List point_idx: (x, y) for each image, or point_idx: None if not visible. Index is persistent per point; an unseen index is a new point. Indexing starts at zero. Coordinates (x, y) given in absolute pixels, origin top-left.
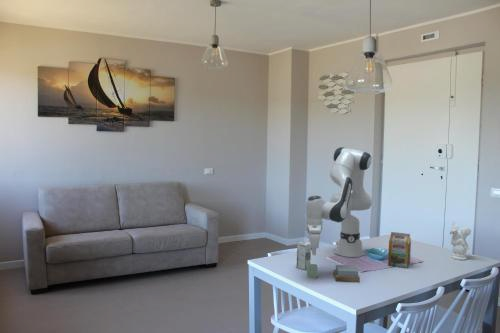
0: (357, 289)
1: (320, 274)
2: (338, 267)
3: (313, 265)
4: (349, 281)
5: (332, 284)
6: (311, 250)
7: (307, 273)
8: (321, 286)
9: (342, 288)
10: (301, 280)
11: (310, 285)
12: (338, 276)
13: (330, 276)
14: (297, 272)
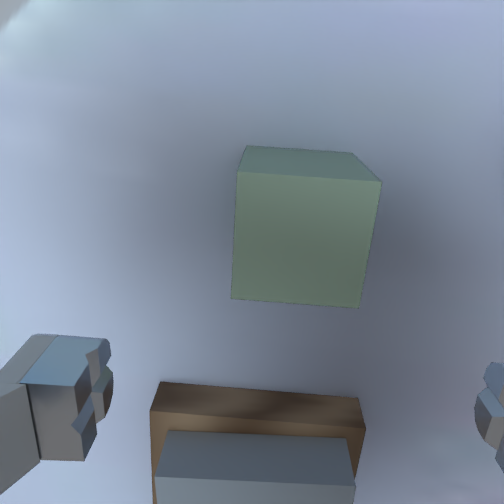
0: None
1: None
2: (264, 493)
3: (299, 259)
4: None
5: None
6: (493, 364)
7: (282, 154)
8: (4, 248)
9: None
10: (142, 61)
11: (2, 147)
12: (166, 429)
13: (293, 363)
14: (443, 36)
